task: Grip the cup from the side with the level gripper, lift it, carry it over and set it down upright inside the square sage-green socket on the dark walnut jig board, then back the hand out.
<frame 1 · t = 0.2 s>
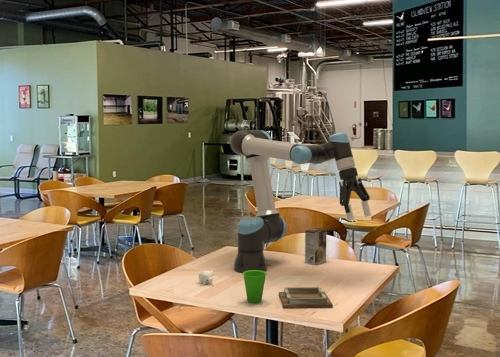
hand: (359, 218, 230), 28 cm above the table, tool tilted 20°, fingers open, 13 cm apart
cup: (254, 302, 208), on the table
elephant figurine: (205, 284, 232), on the table
coffee box: (315, 263, 267), on the table
jig cradle: (304, 301, 209), on the table
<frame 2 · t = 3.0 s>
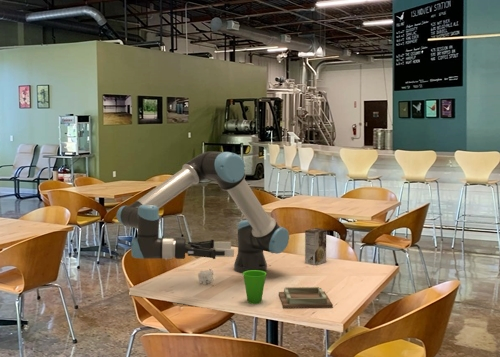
hand: (232, 249, 205), 20 cm above the table, tool horizontal, fingers open, 13 cm apart
nothing on the table moved.
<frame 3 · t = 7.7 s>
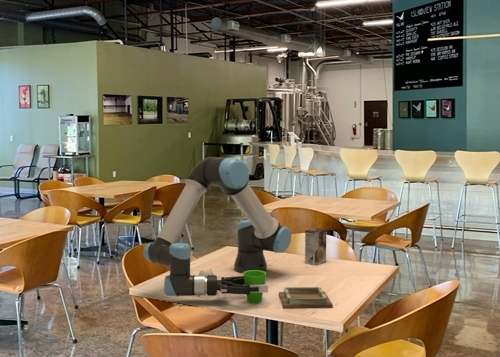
hand: (266, 284, 208), 7 cm above the table, tool horizontal, fingers closed on cup, 9 cm apart
cup: (254, 302, 208), on the table, touching gripper
everything else where it was.
when the fingers open (9 cm above the table, at t = 12.7 s): cup drops 1 cm, resting on jig cradle.
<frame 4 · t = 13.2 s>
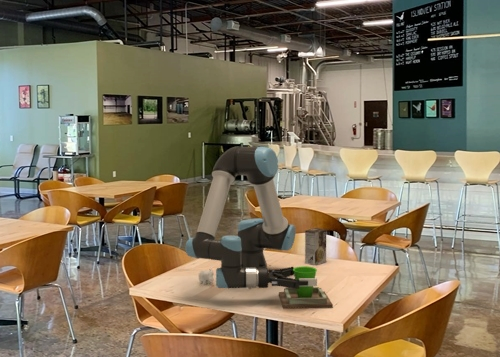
hand: (313, 277, 208), 9 cm above the table, tool horizontal, fingers open, 13 cm apart
cup: (304, 298, 209), point 1 cm above the table, touching jig cradle
everything else where it was.
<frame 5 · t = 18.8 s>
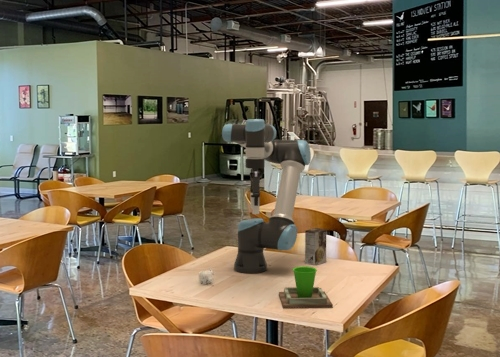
hand: (254, 211, 222), 32 cm above the table, tool pointing down, fingers open, 13 cm apart
nothing on the table moved.
at the end: cup 0.1 cm off-centre on the jig cradle, point 1.0 cm above the jig cradle's base; cup tilted 0°; the gripper is holding nothing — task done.
